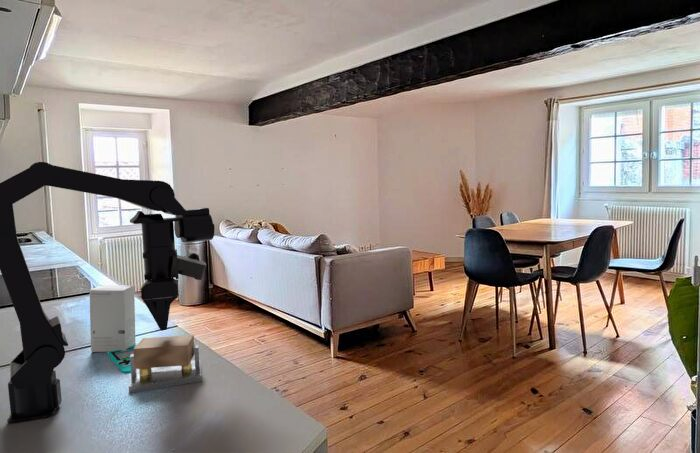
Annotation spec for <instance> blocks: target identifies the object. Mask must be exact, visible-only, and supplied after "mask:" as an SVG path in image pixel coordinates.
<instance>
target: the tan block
mask: <svg viewBox="0 0 700 453" xmlns="http://www.w3.org/2000/svg"><path fill="white" fill-rule="evenodd" d="M194 336H195V335H194V334H191V335H190V334H189V335H187V334H186V335H173V336H156V337H143V338H141V340H140V341H139V342H138V343H137V344H135V345H136V346H135V345H134V346H135V347H134V349H133V350H132V353H134V367H135V369H141V368H155V367H170V366H184V365H189V363H190V362H191V360H193V358H194V357H195V353H194V345H195V337H194Z"/></svg>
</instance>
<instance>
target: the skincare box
mask: <svg viewBox="0 0 700 453" xmlns="http://www.w3.org/2000/svg"><path fill="white" fill-rule="evenodd" d="M135 301H136V300H135V285H129V284H128V285H126V284H124V285H123V284H104V285H99V286H96V287H93V288H90V289H89V320H90V322H89V325H90V327H89V329H90V351H91V353H108V352H110V351H119V350H122V352H121V353H124V351H125V352H127V351H126V349H128V348H129V347H130V346H135V345H136V312H135V311H136V307H135V306H136V305H135V304H136V303H135Z"/></svg>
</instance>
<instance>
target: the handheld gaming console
mask: <svg viewBox="0 0 700 453" xmlns="http://www.w3.org/2000/svg"><path fill="white" fill-rule="evenodd" d="M136 345H137V344H134V345H133V346H130V347H129V348H128V349H126V351H124V352H127V351H133V349H134V347H135V346H136ZM124 352H122V350H119V351H110V352H107V356H108V357H109V358H110V360H111V361H112V362H113V363H114V365H115V366H116V367H117V369H118V370H119V371H120V372H121V373H122V374H127V373H129V374H130V373H131V364H130V355H131V354H134V353H133V352H132V353H129V355H126V356H122V357H121V358H120V357H119V356H118V355H117V354H119V353H124Z"/></svg>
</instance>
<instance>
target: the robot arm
mask: <svg viewBox="0 0 700 453" xmlns="http://www.w3.org/2000/svg"><path fill="white" fill-rule="evenodd" d="M46 186H47V187H52V188H53V187H54V188H59V189H63V190H70V191H73V192H74V191H75V192H79V193H86V194H87V193H88V194H91V195H92V194H93V195H98V196H103V197H109V198H115V199H118V200H121V201H123V202H126V203H129V204H132V205H135V206H137V207H141V208H143V209H145V210H150V211H154V212H155V211H156V212H161V213H164V214H167V215H172V216H175V217H166V218H165V217H163V215H162V214H161V213H148V214H147V213H146V214H145V213H144V212H143V211H142V210H138V211H137V212H136V213H135V215H134V216H133V217H132V218H130V219H129V223H130V224H133V225H141V235H142V249H143V252H142V259H143V263H144V275H143V278H144V281H145V282H144V283H143V284H142V285H141V288H140V295H141V296H140V297H141V300H142V302H143V303H144V304H145V306H146V308H147V309H148V311H149V312H150V314H151V316H152V317H153V320H154V321H155V323H156V325H157V326H158V329H159V330H160V331H166V330H168V324H169V323H168V322H169V317H170V316H169V315H170V309H171V305H172V303H173V302H174V301H175V300H178V298H179V293H180V291H179V280H180V276H179V275H181V276H185V277H189V278H192V279H194V280H197V281H202V280H203V279H204V278H203V277H204V274H205V271H206V268H207V262H205V261H204V260H200V255H199V254H198V253H195V252H190V253H189V254H188V255H187V256H186V255H184V256H183V255H178V249H177V248H176V245H175V244H176V242H175V241H176V240H175V237H176V239H180V240H181V242H182V243H184V244H185V243H186V244H187V243H194V242H204V241H205V242H206V241H212V240H213V239H214V236H215V223H214V221H213V217H212V216H211V214H210V208H209V207H199V208H195V209H186V208H185V207H184V206H183V205H182V204H181V203H180V202H179V201H178V199H176V194H175V191H174V189H173V187H172V186H171V184H170V183H168V182H166V181H163V180H150V179H149V180H147V179H122V178H117V177H113V176H109V175H108V176H107V175H103V174H97V173H92V172H88V171H84V170H83V171H82V170H78V169H75V168H68V167H63V166H59V165H55V164H54V165H53V164H51V163H48V162H46V161H37V162H35V163H32V164H31V165H30V166H29V167H28V168H26V169H24V170H23V171H21V172H19V173H17V174H15V175H13V176H11V177H8V178H7V179H5V180H3V181H2V182H0V273H1V277H2V279H3V281H4V284H5V287H6V289H7V292H8V295H9V297H10V301H11V303H12V305H13V309H14V311H15V314H16V317H17V319H18V322H19V326H20V328H19V329H20V336H21V345H22V350H20V352H19V353H18V354H17V355H16V356H15V357H14V358H13V359H12V360H11V362H10V371H9V372H10V373H9V374H10V375H9V377H10V378H9V381H8V383H7V390H8V391H7V392H8V401H9V408H10V409H9V411H10V415H9V417H8V418H7V420H6V423H7V424H11V423H12V424H13V423H18V422H24V421H30V420H35V419H42V418H47V417H52V416H54V413H55V412H56V410H57V408H59V406H60V404H61V403H62V400H63V399H62V390H61V380H60V379H59V378H57V375H56V374H57V373H56V370H55V369H56V368H57V367H59V365H60V364H61V363H62V362H63V360H64V359H65V356H66V351H65V347H68V346H69V342H68V340H67V338H66V335H65V333H64V332H63V330H62V325H61V322H60V318H59V316H54V317H52V318H51V319H50V318H49V317H48V315H47V314H46V312H45V310H44V309H43V305H42V303H41V300H40V297H39V295H38V292H37V289H36V286H35V284H34V280H33V278H32V274H31V272H30V269H29V267H28V264H27V262H26V259H25V255H24V253H23V250H22V247H21V245H20V241H19V238H18V236H17V227H16V219H15V212H14V211H15V210H14V204H16V203H17V202H19V201H20V200H23V199H24V198H25V197H28V196H30V195H31V194H33V193H35V192H36V191H38V190H40V189H42V188H44V187H46Z"/></svg>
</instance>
